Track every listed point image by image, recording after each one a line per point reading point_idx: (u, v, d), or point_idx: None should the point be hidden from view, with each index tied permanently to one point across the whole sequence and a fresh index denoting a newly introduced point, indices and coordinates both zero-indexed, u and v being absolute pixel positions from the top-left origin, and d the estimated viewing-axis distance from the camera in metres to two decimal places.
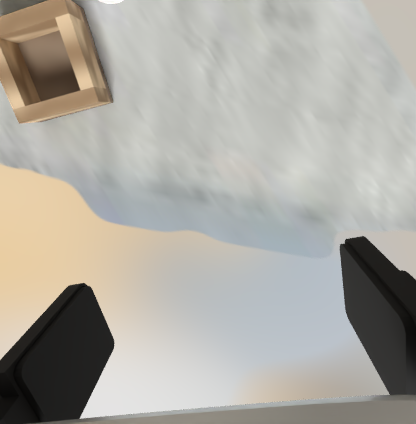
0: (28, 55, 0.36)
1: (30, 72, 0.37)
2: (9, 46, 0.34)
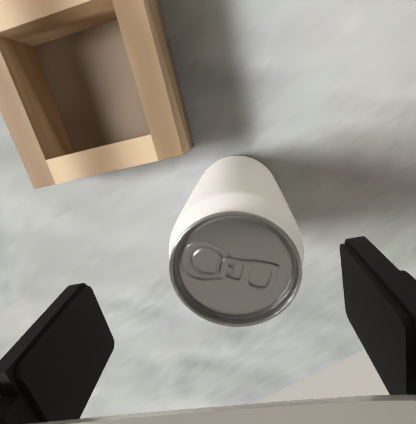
0: (115, 34, 0.19)
1: (87, 30, 0.19)
2: (113, 7, 0.17)
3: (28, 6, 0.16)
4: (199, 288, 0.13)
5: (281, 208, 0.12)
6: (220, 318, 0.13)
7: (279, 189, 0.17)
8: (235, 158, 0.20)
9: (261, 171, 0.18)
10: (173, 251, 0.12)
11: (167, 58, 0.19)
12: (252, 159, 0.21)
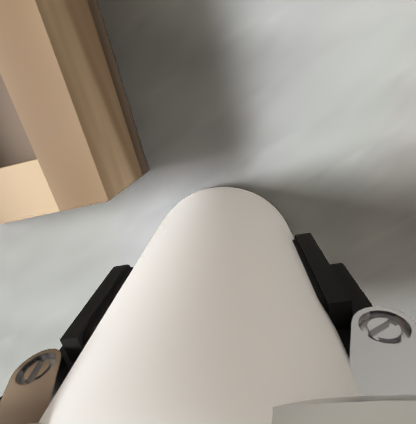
0: None
1: None
2: None
3: None
4: None
5: None
6: None
7: None
8: (220, 195, 0.11)
9: (271, 234, 0.09)
10: None
11: (78, 5, 0.09)
12: (250, 195, 0.12)
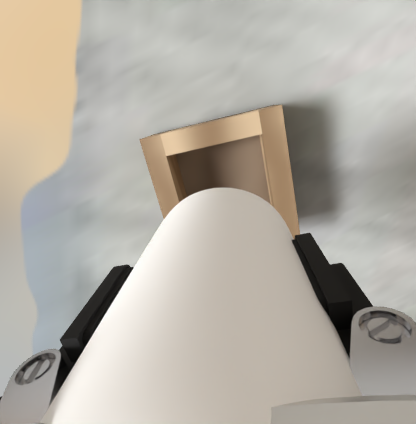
0: (242, 144, 0.25)
1: None
2: None
3: (197, 139, 0.22)
4: None
5: None
6: None
7: None
8: (219, 196, 0.11)
9: (271, 235, 0.09)
10: None
11: None
12: (250, 196, 0.12)
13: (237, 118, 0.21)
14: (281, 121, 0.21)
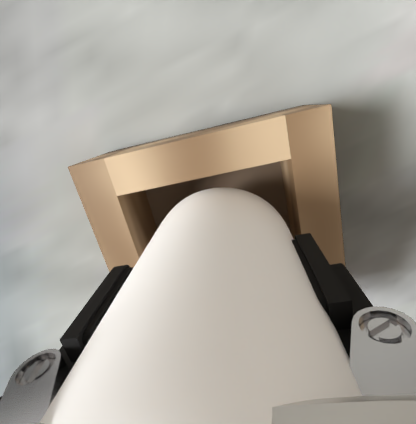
0: (251, 169, 0.15)
1: None
2: None
3: (171, 167, 0.12)
4: None
5: None
6: None
7: None
8: (219, 196, 0.11)
9: (270, 235, 0.09)
10: None
11: None
12: (250, 196, 0.12)
13: (245, 130, 0.11)
14: (328, 136, 0.11)
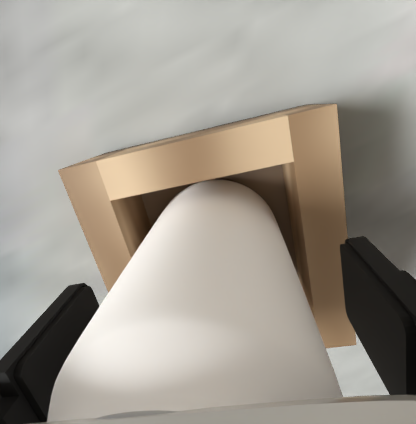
0: (251, 171, 0.15)
1: None
2: None
3: (167, 170, 0.11)
4: None
5: (299, 350, 0.05)
6: None
7: (283, 248, 0.10)
8: (211, 186, 0.13)
9: (251, 214, 0.10)
10: None
11: None
12: (238, 186, 0.14)
13: (245, 132, 0.11)
14: (333, 137, 0.10)
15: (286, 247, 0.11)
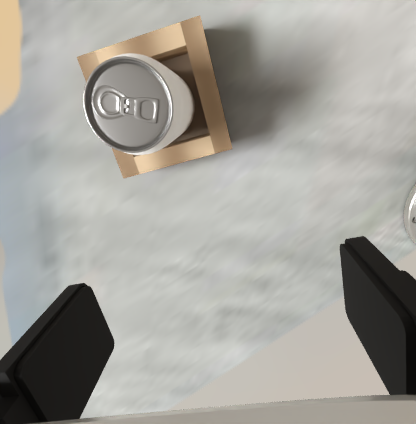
0: (177, 66, 0.27)
1: None
2: (181, 51, 0.25)
3: None
4: (108, 126, 0.18)
5: (160, 63, 0.18)
6: (127, 150, 0.19)
7: (179, 78, 0.23)
8: None
9: None
10: (84, 93, 0.17)
11: None
12: None
13: (162, 31, 0.23)
14: (201, 31, 0.23)
15: (185, 85, 0.24)
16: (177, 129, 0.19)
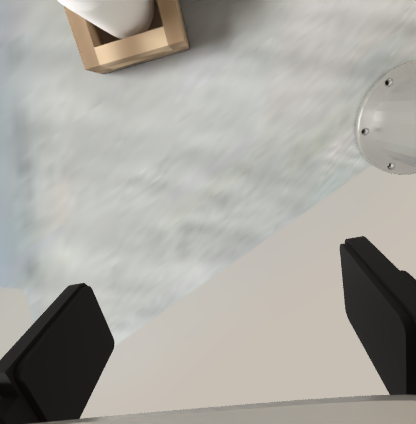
0: None
1: None
2: None
3: None
4: None
5: None
6: None
7: None
8: None
9: None
10: None
11: None
12: None
13: None
14: None
15: None
16: None
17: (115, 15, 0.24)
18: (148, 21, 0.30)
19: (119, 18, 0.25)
